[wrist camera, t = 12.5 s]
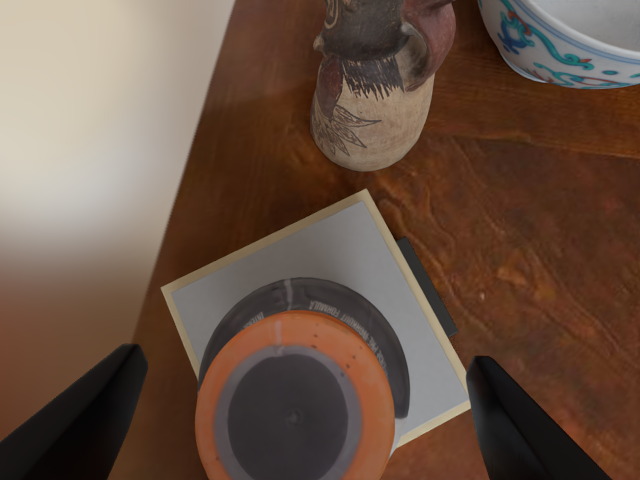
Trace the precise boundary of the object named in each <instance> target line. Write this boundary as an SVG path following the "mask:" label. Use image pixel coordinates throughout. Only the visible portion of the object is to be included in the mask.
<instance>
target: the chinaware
mask: <svg viewBox="0 0 640 480" xmlns="http://www.w3.org/2000/svg"><path fill="white" fill-rule="evenodd" d="M478 5H479V9H480V13H481V16H482V19H483V22H484V24H485V26H486V29H487V31H488V33H489V35H490V37H491V38H492V40H493V41H494V43H495V44H496V46H497V47H498V49H499V52H500V54H501V56H502V57H503V59H504V60H505V62H506V63H507V64H508V65H509V66H510V67H511V68H512V69H513V70H514V71H516V72H517V73H519V74H520V75H522V76H524V77H526V78H528V79H531V80H534V81H538V82H545V83H552V84H555V85H560V86H564V87H571V88H580V89H608V88H618V87H625V86H631V85H636V84H640V0H478Z"/></svg>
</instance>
